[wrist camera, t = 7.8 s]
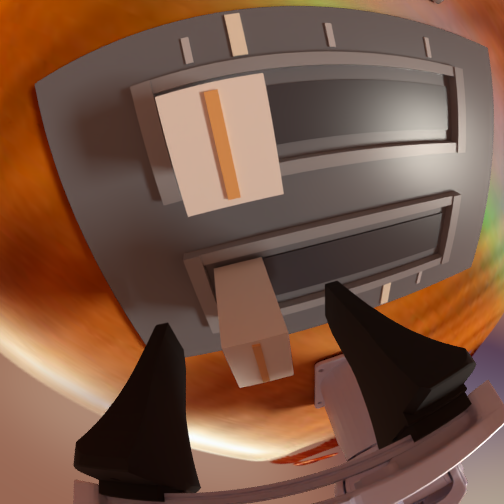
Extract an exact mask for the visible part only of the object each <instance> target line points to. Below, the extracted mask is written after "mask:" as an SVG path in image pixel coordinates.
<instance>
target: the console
mask: <svg viewBox="0 0 504 504" xmlns="http://www.w3.org/2000/svg"><path fill="white" fill-rule="evenodd" d="M259 73H263V75H264V80H265V85H266V90H267V95H268V101H269V106H270V112H271V117H272V123H273V129H274V135H275V141H276V147H277V153H278V159H279V165H280V172H281V179H282V185H283V192H284V194H282V195H277V196H273V197H268V198H264V199H259V200H255V201H251V202H246V203H242V204H238V205H234V206H229V207H225V208H221V209H217V210H213V211H209V212H205V213H201V214H197V215H194V216H190V217H188V215H187V212H186V209H185V205H184V202H183V199H182V196H181V192H180V189H179V185H178V182H177V179H176V175H175V172H174V168H173V165H172V161H171V158H170V154H169V150H168V147H167V143H166V139H165V135H164V132H163V128H162V124H161V120H160V116H159V112H158V108H157V104H156V100H155V97H157V96H160V95H164V94H167V93H170V92H174V91H177V90H181V89H185V88H189V87H193V86H197V85H201V84H205V83H209V82H214V81H219V80H224V79H229V78H234V77H240V76H246V75H252V74H259ZM35 88H36V94H37V99H38V103H39V108H40V112H41V116H42V121H43V124H44V128H45V132H46V136H47V139H48V143H49V146H50V149H51V153H52V156H53V159H54V162H55V165H56V168H57V171H58V174H59V177H60V179H61V182H62V185H63V188H64V190H65V193H66V195H67V198H68V200H69V203H70V205H71V208H72V210H73V213H74V215H75V217H76V220H77V222H78V224H79V226H80V229H81V231H82V233H83V235H84V237H85V240H86V242H87V244H88V246H89V248H90V250H91V252H92V254H93V256H94V258H95V260H96V262H97V264H98V266H99V268H100V270H101V271H102V273H103V275H104V277H105V279H106V281H107V282H108V284H109V286H110V288H111V290H112V291H113V293H114V295H115V297H116V298H117V300H118V302H119V303H120V305H121V307H122V308H123V310H124V312H125V313H126V315H127V316H128V318H129V320H130V321H131V323H132V324H133V326H134V327H135V329H136V331H137V332H138V334H139V335H140V337H141V338H142V340H143V341H144V343H145V344H146V345H147V342H148V340H149V338H150V336H151V334H152V332H153V330H154V328H155V326H156V325H158V324H163V323H169V325H170V327H171V328H172V330H173V332H174V334H175V335H176V337H177V339H178V341H179V342H180V344H181V346H182V347H183V349H184V356H185V357H190V356H195V355H201V354H206V353H211V352H216V351H221V350H222V347H221V339H220V329H219V320H218V310H217V300H216V289H215V277H214V268H218V267H222V266H226V265H230V264H234V263H239V262H243V261H247V260H251V259H255V258H259V257H262V260H263V262H264V265H265V268H266V271H267V274H268V276H269V279H270V282H271V285H272V288H273V291H274V293H275V296H276V299H277V302H278V305H279V307H280V310H281V313H282V316H283V319H284V322H285V324H286V327H287V330H288V334H291V333H295V332H298V331H302V330H305V329H309V328H312V327H316V326H319V325H322V324H326V323H328V322H327V319H326V317H325V284H327V283H330V282H334V281H339V282H340V283H341V284H342V285H344V286H345V287H346V288H347V289H349V290H350V291H351V292H353V293H354V294H355V295H356V296H358V297H359V298H360V299H362V300H363V301H364V302H366V303H367V304H368V305H370V306H371V307H373V308H374V307H377V306H379V305H382V304H385V303H387V302H390V301H393V300H395V299H398V298H401V297H403V296H406V295H408V294H411V293H413V292H416V291H418V290H421V289H423V288H425V287H428V286H430V285H432V284H435V283H437V282H439V281H442V280H444V279H446V278H448V277H451V276H453V275H455V274H457V273H459V272H461V271H463V270H466V269H468V268H470V267H471V265H472V262H473V259H474V255H475V252H476V248H477V244H478V240H479V236H480V232H481V228H482V223H483V219H484V214H485V209H486V203H487V197H488V191H489V184H490V176H491V167H492V155H493V137H494V105H493V87H492V76H491V67H490V60H489V53H488V48H487V47H485V46H482V45H480V44H478V43H476V42H473V41H471V40H469V39H466V38H464V37H461V36H459V35H456V34H453V33H451V32H448V31H445V30H442V29H439V28H436V27H433V26H430V25H426V24H423V23H419V22H416V21H412V20H408V19H404V18H399V17H395V16H390V15H385V14H380V13H374V12H368V11H361V10H353V9H344V8H333V7H315V6H280V7H262V8H250V9H241V10H233V11H226V12H219V13H214V14H208V15H203V16H198V17H193V18H189V19H185V20H180V21H177V22H173V23H169V24H165V25H162V26H159V27H155V28H152V29H149V30H146V31H143V32H140V33H137V34H134V35H131V36H129V37H126V38H123V39H121V40H118V41H116V42H113V43H111V44H109V45H106V46H104V47H102V48H99V49H97V50H95V51H93V52H91V53H89V54H87V55H84V56H82V57H80V58H78V59H77V60H75V61H73V62H71V63H69V64H67V65H65V66H63V67H62V68H60V69H58V70H56V71H55V72H53V73H51V74H50V75H48V76H46V77H45V78H43V79H42V80H40V81H38V82H37V83H35Z"/></svg>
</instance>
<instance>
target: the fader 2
mask: <svg viewBox="0 0 504 504" xmlns="http://www.w3.org/2000/svg"><path fill="white" fill-rule="evenodd" d="M214 277H215V289H216V300H217V310H218V320H219V329H220V339H221V347H222V350H223V353H224V355H225V357H226V359H227V362H228V364H229V366H230V368H231V370H232V373H233V375H234V377H235V379H236V381H237V383H238V385H239V387H240V388H242V387H247V386H251V385H256V384H260V383H264V382H269V381H273V380H277V379H281V378H284V377H288V376H292V375H294V371H293V364H292V356H291V348H290V341H289V334H288V330H287V327H286V324H285V322H284V319H283V316H282V313H281V310H280V307H279V305H278V302H277V299H276V296H275V293H274V291H273V288H272V285H271V282H270V279H269V276H268V274H267V271H266V268H265V265H264V262H263V260H262V257H259V258H255V259H251V260H247V261H243V262H239V263H234V264H230V265H226V266H222V267H218V268H214Z"/></svg>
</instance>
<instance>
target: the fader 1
mask: <svg viewBox="0 0 504 504" xmlns="http://www.w3.org/2000/svg"><path fill="white" fill-rule="evenodd" d="M155 100H156V104H157V108H158V112H159V116H160V120H161V124H162V128H163V132H164V135H165V139H166V143H167V147H168V150H169V154H170V158H171V161H172V165H173V168H174V172H175V175H176V179H177V182H178V185H179V189H180V192H181V196H182V199H183V202H184V205H185V209H186V212H187V215H188V217H190V216H194V215H197V214H201V213H205V212H209V211H213V210H217V209H221V208H225V207H229V206H234V205H238V204H242V203H246V202H251V201H255V200H259V199H264V198H268V197H273V196H277V195H282V194H284V192H283V185H282V179H281V172H280V165H279V159H278V153H277V147H276V141H275V135H274V129H273V123H272V117H271V112H270V106H269V101H268V95H267V90H266V85H265V80H264V75H263V73H259V74H252V75H246V76H240V77H234V78H229V79H224V80H219V81H214V82H209V83H205V84H201V85H197V86H193V87H189V88H185V89H181V90H177V91H174V92H170V93H167V94H164V95H160V96H157V97H155Z"/></svg>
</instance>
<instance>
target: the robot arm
mask: <svg viewBox="0 0 504 504" xmlns="http://www.w3.org/2000/svg"><path fill="white" fill-rule="evenodd" d="M325 317H326V319H327V322H328V324H329V327H330V329H331V332H332V334H333V336H334V338H335V340H336V341H337V343H338V345H339V347H340V349H341V351H342V352H343V354H341V355H338V356H335V357H332V358H329V359H326V360H323V361H320V362H318V363H316V364H315V408H321V407H324V406H325V409H326V411H327V414H328V417H329V420H330V422H331V425H332V428H333V431H334V433H335V436H336V439H337V442H338V445H339V447H340V448H341V450H342V451H343V452H344V455H345V458H346V461H347V462H346V463H344V464H341V465H340V466H337V467H334V468H330V469H327V470H325V471H321V472H318V473H314V474H311V475H307V476H304V477H300V478H296V479H292V480H287V481H283V482H278V483H274V484H269V485H263V486H257V487H251V488H245V489H237V490H229V491H219V492H206V493H196V492H197V491H199V489H200V488H201V487H200V484H199V480H198V477H197V473H196V469H195V465H194V461H193V457H192V452H191V447H190V441H189V435H188V428H187V421H186V365H185V356H184V349H183V347H182V346H181V344H180V342H179V341H178V339H177V337H176V335H175V334H174V332H173V330H172V328H171V327H170V325H169V323H163V324H158V325H156V326H155V328H154V330H153V332H152V334H151V336H150V338H149V340H148V342H147V345H146V347H145V349H144V351H143V353H142V355H141V357H140V359H139V361H138V363H137V365H136V367H135V369H134V370H133V372H132V374H131V376H130V378H129V380H128V381H127V383H126V385H125V386H124V388H123V389H122V391H121V392H120V394H119V396H118V397H117V398H116V400H115V401H114V402H113V404H112V405H111V406H110V408H109V409H108V410H107V411H106V413H105V414H104V415H103V416H102V417H101V419H100V420H99V421H98V422H97V423H96V424H95V425H94V426H93V427H92V428H91V429H90V430H89V431H88V432H87V433H86V434H85V435H84V436H83V437H81V438H80V439H79V440H78V441H77V442H76V448H75V456H74V467H75V468H76V469H77V470H78V471H80V472H82V473H84V474H86V475H89V476H91V477H94V478H96V479H98V480H99V485H98V484H94V483H90V482H84V481H79V480H75V481H74V501H73V502H74V503H73V504H246V503H253V502H259V501H266V500H271V499H276V498H281V497H286V496H290V495H295V494H298V493H303V492H307V491H310V490H314V489H317V488H321V487H324V486H327V485H330V484H333V483H335V497H334V498H331V499H327V500H324V501H321V502H317V503H313V504H459V503H460V501H461V500H462V498H463V497H464V495H465V493H466V492H467V488H466V486H467V484H468V482H467V479H466V477H465V475H464V472H463V470H464V469H463V466H462V463H461V462H462V461H463V460H464V459H465V458H467V457H468V456H469V455H470V454H472V453H473V452H474V451H475V450H476V449H477V448H479V447H480V446H481V445H482V444H483V443H484V442H486V441H487V440H488V439H489V438H490V437H491V436H492V435H493V434H494V433H495V432H496V431H498V430H499V429H500V428H501V427H502V426H503V425H504V404H503V402H502V401H501V399H500V398H499V396H498V394H497V393H496V391H495V389H494V388H493V386H492V385H491V383H490V382H489V380H487V381H485V382H484V383H483V384H482V385H480V386H479V387H478V388H476V389H475V390H474V391H473V392H471V393H470V394H469V395H468V396H467V395H466V393H465V391H466V390H467V388H466V386H465V385H464V382H465V381H466V380H467V378H468V377H469V376H470V375H471V373H472V372H473V370H474V368H475V366H476V363H475V361H474V360H473V358H472V357H471V355H470V354H469V353H468V351H467V350H466V349H465V348H461V347H457V346H453V345H449V344H445V343H442V342H439V341H436V340H433V339H430V338H428V337H425V336H423V335H421V334H418V333H416V332H414V331H411V330H409V329H407V328H405V327H403V326H402V325H400V324H398V323H396V322H394V321H393V320H391V319H389V318H388V317H386V316H385V315H383V314H381V313H380V312H378V311H377V310H375V309H374V308H373V307H371V306H370V305H368V304H367V303H366V302H364V301H363V300H362V299H360V298H359V297H358V296H356V295H355V294H354V293H353V292H351V291H350V290H349V289H347V288H346V287H345V286H344V285H342V284H341V283H340V282H339V281H334V282H330V283H327V284H325Z"/></svg>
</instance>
